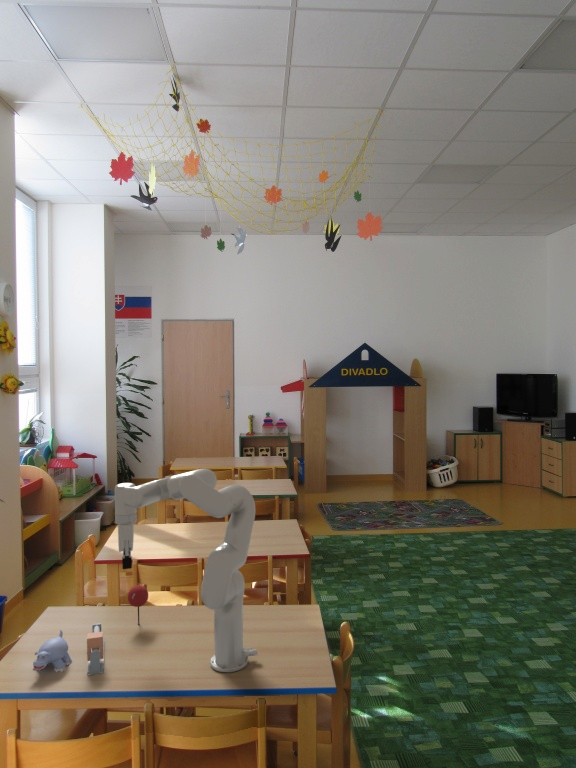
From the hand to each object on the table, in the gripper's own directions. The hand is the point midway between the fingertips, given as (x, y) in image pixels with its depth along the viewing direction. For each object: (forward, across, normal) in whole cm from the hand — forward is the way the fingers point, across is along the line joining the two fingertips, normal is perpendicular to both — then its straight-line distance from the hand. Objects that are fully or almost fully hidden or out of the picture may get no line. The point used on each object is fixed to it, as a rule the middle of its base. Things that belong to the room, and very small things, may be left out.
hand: (127, 567), depth 213 cm
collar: (+24, +14, -11) cm, 30 cm away
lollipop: (+27, -13, +4) cm, 31 cm away
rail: (+27, +8, -11) cm, 30 cm away
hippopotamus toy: (+27, +11, -26) cm, 39 cm away
